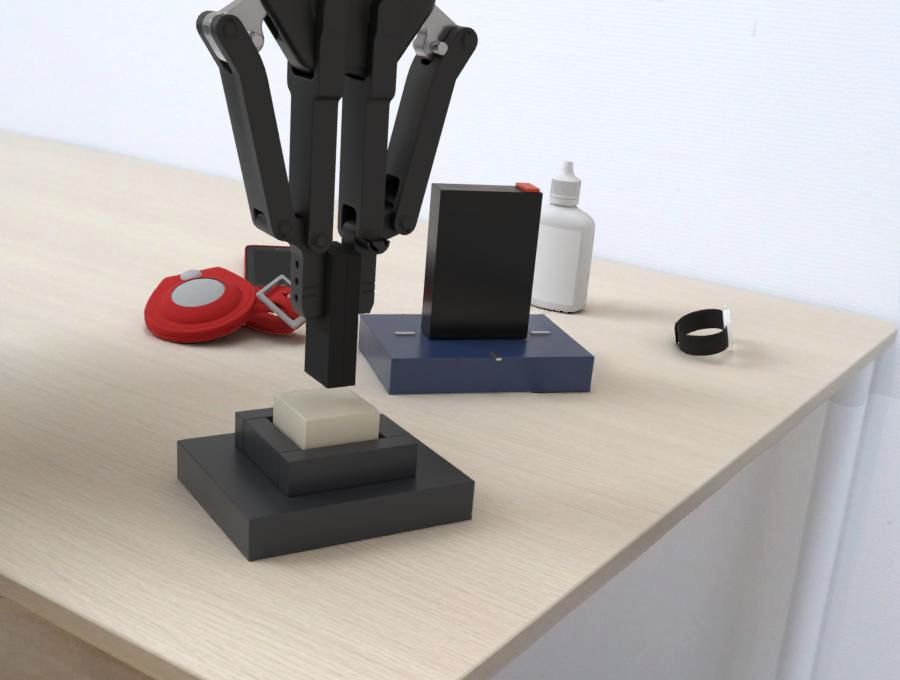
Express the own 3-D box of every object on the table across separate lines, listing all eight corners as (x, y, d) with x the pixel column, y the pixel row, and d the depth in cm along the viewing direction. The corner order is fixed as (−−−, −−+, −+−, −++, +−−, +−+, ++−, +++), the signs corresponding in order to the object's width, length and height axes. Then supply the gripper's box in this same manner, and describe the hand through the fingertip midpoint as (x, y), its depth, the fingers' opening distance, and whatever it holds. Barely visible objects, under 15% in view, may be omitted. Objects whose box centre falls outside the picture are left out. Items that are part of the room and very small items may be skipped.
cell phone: (329, 258, 108) (330, 247, 107) (342, 302, 94) (342, 290, 94) (244, 254, 106) (244, 244, 106) (244, 298, 93) (244, 286, 93)
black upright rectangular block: (429, 339, 79) (441, 186, 75) (420, 328, 81) (431, 179, 77) (527, 338, 81) (543, 189, 77) (516, 328, 83) (531, 182, 79)
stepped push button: (248, 563, 53) (250, 482, 52) (176, 478, 61) (176, 406, 60) (471, 520, 59) (479, 447, 58) (380, 448, 67) (384, 382, 66)
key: (304, 454, 56) (306, 420, 56) (272, 425, 60) (273, 392, 59) (378, 443, 58) (380, 410, 58) (343, 416, 62) (344, 384, 61)
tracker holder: (146, 333, 79) (130, 263, 87) (161, 386, 82) (144, 313, 90) (320, 294, 82) (290, 229, 89) (328, 346, 85) (299, 279, 92)
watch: (734, 367, 87) (743, 320, 86) (670, 359, 88) (678, 312, 86) (730, 338, 94) (738, 295, 93) (671, 331, 95) (678, 287, 93)
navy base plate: (391, 398, 75) (393, 359, 74) (356, 344, 85) (358, 309, 84) (593, 394, 79) (598, 357, 78) (537, 343, 89) (541, 309, 88)
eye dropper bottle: (547, 316, 96) (564, 167, 92) (513, 297, 101) (527, 155, 96) (591, 313, 98) (610, 167, 93) (556, 295, 103) (572, 155, 98)
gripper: (235, -185, 43) (231, 420, 52) (530, -142, 49) (481, 388, 58) (168, -174, 49) (175, 368, 57) (439, -137, 55) (408, 344, 64)
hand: (329, 377), depth 58 cm, fingers closed
